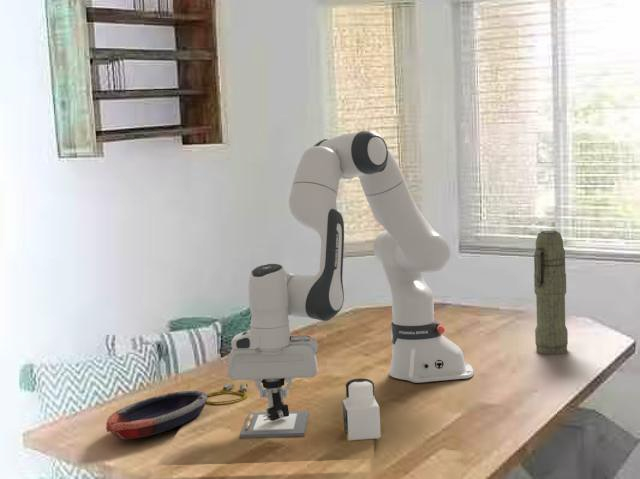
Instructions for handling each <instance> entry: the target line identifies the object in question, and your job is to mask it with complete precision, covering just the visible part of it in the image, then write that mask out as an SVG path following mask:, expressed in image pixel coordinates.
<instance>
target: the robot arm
mask: <svg viewBox="0 0 640 479" xmlns="http://www.w3.org/2000/svg"><path fill="white" fill-rule="evenodd" d="M357 177H358V179H359V182H360V184H361V188H362V190H363V193H364V196H365V198H366V201H367V203H368V205H369V207H370V210H371V212H372V216H373V217H374V219H375V220H376V222H377V224H379V225H381V226H382V227H383V228H384V229H385V231H384V230H383V231H381V233H379V234H378V235H377V236H376V238H375V240H374V242H373V247H372V248H373V249H372V250H373V251H372V252H373V255H374V257H375V259H376V260H377V261H378V263H379V264H380V265H381V268H382V269H383V272H384V275H385V277H386V280H387V283H388V288H389V291H390V298H391V310H392V311H391V312H392V322H391V323H390V324H391V327H390V336H391V339H390V340H391V343H392V352H391V353H392V354H391V362H390V367H389V372H388V375H389V376H390V377H391V378H395V379H398V380H404V381H408V382H411V383H431V382H439V381H440V382H441V381H449V380H450V381H451V380H461V379H463V380H464V379H469V378H472V377H473V376H474V368H473V366H472V365H471V364H469V363H467V362H465V356H464V353H463V351H462V349H461V348H460V347H459V346H458V345H457V344H455V343H454V342H453V341H451V340H450V339H449V338H447V337H446V336H445V335H443V334H444V333H445V331H446V329H445V326H444V325H443V324H442V323H440V322H439V321H436V320H435V313H434V311H435V310H434V307H435V306H434V294H433V291H432V289H431V288H430V286H428V284H427V282H426V280H425V279H424V276H423V274H431V273H437V272H440V271H442V270H443V269H444V268H445V267H446V266H447V265H448V264H449V260H450V256H451V248H450V245H449V243H448V240H447V239H446V238H445V237H444V236H442V235H441V234H439V233H438V232H437V231H436V230H435V229H434V228H433V226H431V224H430V223H429V221H427V219H426V218H425V217H424V215H423V214H422V212H421V211H420V209H419V208H418V206H417V205H416V203H415V200H414V198H413V196H412V193H411V192H410V189H409V186H408V184H407V181H406V178H405V177H404V174H403V172H402V170H401V167H400V166H399V164H398V162H397V160H396V158H395V156H394V155H393V154H392V152H391V150H390V148H388V146H387V143H386V141H385V139H384V138H383V137H382V135H380V134H379V133H377V132H375V131H372V130H371V131H370V130H361V131H360V132H359V131H358V132H347V133H343V134H342V133H341V134H340V135H338V136H334V137H330V138H324V139H321V140H319V141H318V142H316V143H315V144H314V145H313V146H311V147H308V148H307V149H306V150H305V151H304V152H303V154H302V156H301V157H300V160H299V163H298V165H297V167H296V170H295V174H294V177H293V181H292V184H291V189H290V193H289V197H288V198H289V200H288V208H289V211H290V214H292V216H293V218H294V219H295V220H296V221H297V222H299V223H300V224H301V225H303V226H304V227H306V228H308V229H309V230H313V231H314V232H316V233H317V234H318V235H319V238H320V254H319V257H320V258H319V270H318V272H317V274H315V275H306V274H305V275H302V274H294V273H291V272H288V271H286V270H285V269H284V266H283V265H281V264H278V263H267V264H264V265H263V264H261V265H259V266H256V267H254V268H253V269H252V270H251V272H250V276H249V279H248V306H249V311H250V313H251V319H250V324H249V325H250V329H248V330H246V331H243V332H240V333H238V334H236V335H234V336H233V338H232V339H231V341H230V343H231V344H230V346H231V350H230V352H229V354H228V360H227V377H228V378H229V379H230V380H231V381H247V380H251V381H252V380H253V382H254V385H255V387H256V389H257V390H258V392H259V398H260V399H268V394H267V389H266V388H264V387H263V385H262V384H261V383H262V382H261V381H262V380H263V379H280V378H285V380H284V382H285V384H286V385H285V387H282V389H281V397H283V398H289V389H290V386H291V385H292V384H293V379H297V378H298V379H301V378H303V379H304V378H315V377H316V376H317V373H318V361H317V356H316V355H317V352H319V351H318V350H319V349H318V341H317V340H316V339H315V338H314V337H311V336H310V335H304V336H300V335H299V336H298V335H294V336H291V324H290V322H291V321H290V319H289V316H290V317H295V318H296V317H297V318H309V319H312V320H319V321H323V322H328V321H331V319H332V320H333V318H334V317H336V315H338V314H339V313H340V311H341V310H342V308H343V305H344V302H345V294H344V285H343V273H344V271H343V270H344V249H345V246H344V245H345V224H344V223H345V222H344V217H343V214H341V212H339V211H338V208H337V199H338V198H337V197H338V191H339V186H340V180H348V179H349V180H351V179H354V178H357Z"/></svg>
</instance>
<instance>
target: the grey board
mask: <svg viewBox="0 0 640 479" xmlns="http://www.w3.org/2000/svg"><path fill="white" fill-rule="evenodd" d="M266 414H267V412H266V411H264V412H263V411H261V412H259V411H257V412H248V415H247V418H246V420H245V422H244V425H243V427H242V429H241V432H240V435H239V437H240V438H239V439H246V438H247V439H250V438H251V439H253V438H254V439H255V438H280V437H281V438H282V437H285V438H286V437H287V438H288V437H304V436H305V435H306V429H307V424H308V418H309V410H293V411H292V410H291V411H290V410H289V416H287V417H283V418H281V419H277V420H274V421H271V420H266V421H264V419H266V418H267V416H266V417H263V416H264V415H266Z"/></svg>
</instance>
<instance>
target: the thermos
mask: <svg viewBox="0 0 640 479" xmlns="http://www.w3.org/2000/svg"><path fill="white" fill-rule="evenodd" d="M565 250H566V249H565V248H564V240H563V238H562V235H561V232H558V230H542V231H540V232H538V233H537V235H536V239H535V251H534V255H533V261H534V262H533V263H534V273H533V278H534V279H533V280H534V281H533V282H534V284H533V285H534V293H535V296H536V300H535V302H536V327H535V328H534V329H535V330H534V334H535V335H534V336H535V346H536V352H537V353H539V354H543V355H548V356H549V355H550V356H551V355H562V354H565V353H567V352H568V343H569V342H568V341H569V340H568V339H569V338H568V329H567V325H566V297H565V296H566V293H567V273H566V251H565Z"/></svg>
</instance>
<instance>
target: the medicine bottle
mask: <svg viewBox="0 0 640 479" xmlns="http://www.w3.org/2000/svg"><path fill="white" fill-rule="evenodd" d="M374 384H375V383H374V381H373V380H371V379H368V378H353V379H351V380H348V381H347V382H346V384H345V392H346V394H345V396H346V399H342V411H343V412H342V413H343V430H344V433H345V436H346V438H347V441H363V440H375V439H381V437H382V436H381V434H382V433H381V415H380V410H381V409H380V405H379V403H378V401H377V400H376V398H375V385H374Z"/></svg>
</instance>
